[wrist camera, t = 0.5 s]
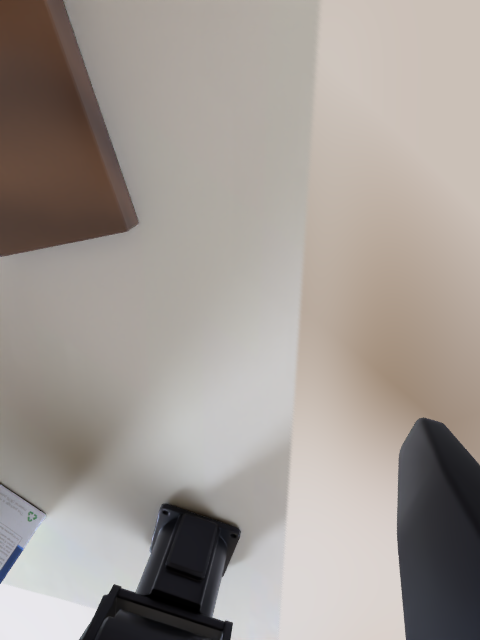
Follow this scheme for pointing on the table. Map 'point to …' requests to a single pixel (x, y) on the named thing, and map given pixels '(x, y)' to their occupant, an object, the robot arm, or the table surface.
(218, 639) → the robot arm
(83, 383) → the table surface
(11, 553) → the blue and white box
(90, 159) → the stand
